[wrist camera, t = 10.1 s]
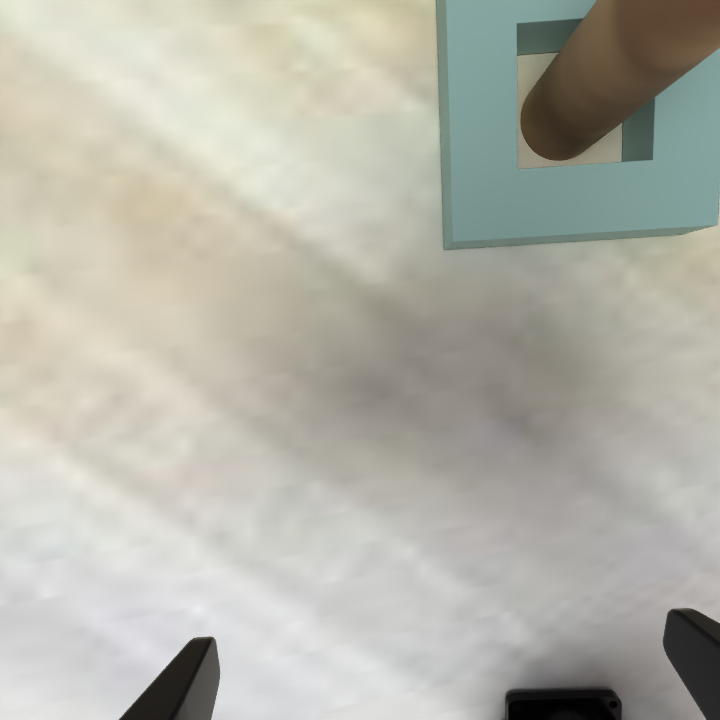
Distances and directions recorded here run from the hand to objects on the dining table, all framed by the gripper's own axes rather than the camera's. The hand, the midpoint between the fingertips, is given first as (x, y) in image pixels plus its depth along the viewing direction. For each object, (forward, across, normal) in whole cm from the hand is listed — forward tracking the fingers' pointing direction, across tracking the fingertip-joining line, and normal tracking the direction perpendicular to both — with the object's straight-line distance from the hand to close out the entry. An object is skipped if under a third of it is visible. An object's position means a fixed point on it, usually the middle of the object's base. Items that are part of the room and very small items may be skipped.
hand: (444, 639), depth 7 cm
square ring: (+14, -9, -14) cm, 22 cm away
